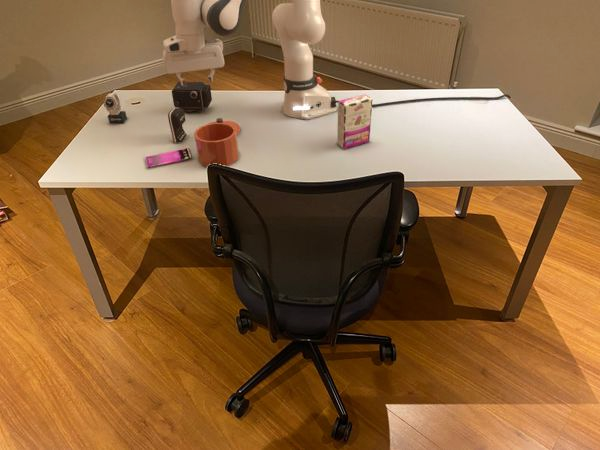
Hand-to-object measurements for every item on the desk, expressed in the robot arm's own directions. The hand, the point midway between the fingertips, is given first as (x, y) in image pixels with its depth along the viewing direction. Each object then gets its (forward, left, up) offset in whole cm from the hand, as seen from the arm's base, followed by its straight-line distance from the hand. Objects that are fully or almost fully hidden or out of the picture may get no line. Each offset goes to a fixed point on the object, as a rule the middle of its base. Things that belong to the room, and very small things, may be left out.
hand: (197, 82), depth 151 cm
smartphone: (+15, +13, -20) cm, 28 cm away
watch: (+30, -25, -20) cm, 44 cm away
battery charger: (+9, 0, -20) cm, 22 cm away
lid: (-6, 0, -19) cm, 20 cm away
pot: (-1, +18, -20) cm, 27 cm away
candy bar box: (-48, +27, -20) cm, 59 cm away
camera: (0, -23, -20) cm, 31 cm away
